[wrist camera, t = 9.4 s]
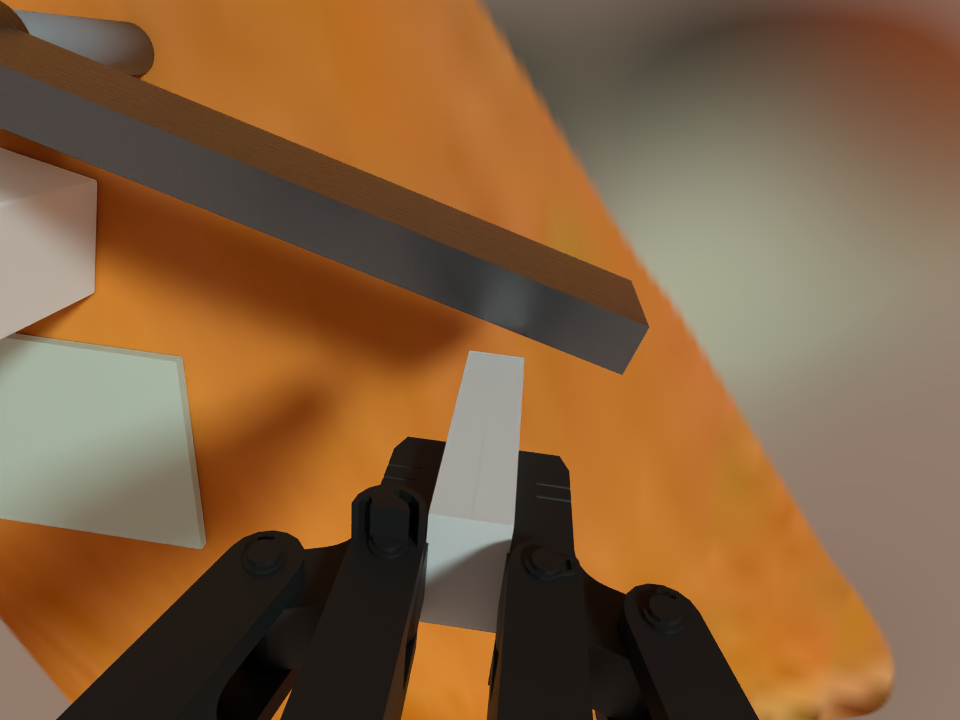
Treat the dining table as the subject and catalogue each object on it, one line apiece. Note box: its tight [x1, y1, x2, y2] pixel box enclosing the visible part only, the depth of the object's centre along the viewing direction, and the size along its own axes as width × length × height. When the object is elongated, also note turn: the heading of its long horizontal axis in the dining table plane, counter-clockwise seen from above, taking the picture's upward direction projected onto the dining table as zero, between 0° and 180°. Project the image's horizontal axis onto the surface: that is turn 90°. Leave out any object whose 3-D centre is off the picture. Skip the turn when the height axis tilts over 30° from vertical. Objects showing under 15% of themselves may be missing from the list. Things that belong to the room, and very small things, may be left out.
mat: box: [0, 333, 207, 550], centre depth 35 cm, size 13×13×1 cm
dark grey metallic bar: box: [0, 1, 649, 375], centre depth 18 cm, size 23×3×5 cm, turn 69°
